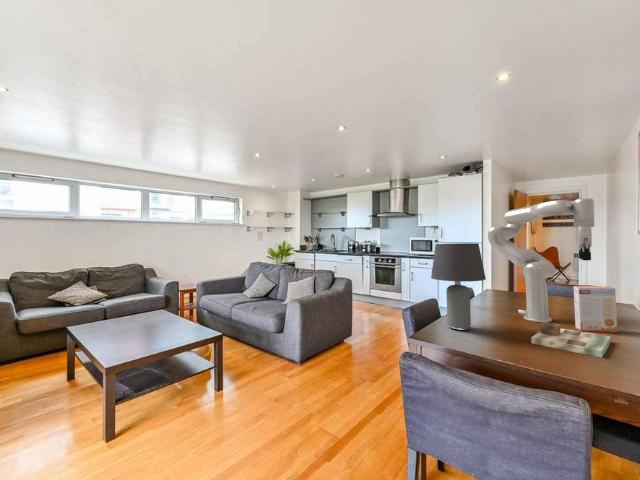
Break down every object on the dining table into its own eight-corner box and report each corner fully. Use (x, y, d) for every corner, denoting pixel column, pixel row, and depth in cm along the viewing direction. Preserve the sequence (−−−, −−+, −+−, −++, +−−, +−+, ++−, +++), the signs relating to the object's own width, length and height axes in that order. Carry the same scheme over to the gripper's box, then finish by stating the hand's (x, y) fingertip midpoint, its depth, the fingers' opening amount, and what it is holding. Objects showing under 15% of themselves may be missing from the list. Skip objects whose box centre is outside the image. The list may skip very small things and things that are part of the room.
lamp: (486, 324, 156) (484, 242, 156) (488, 339, 134) (485, 243, 134) (435, 319, 168) (433, 243, 168) (429, 332, 146) (426, 244, 146)
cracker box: (610, 329, 143) (608, 286, 143) (618, 333, 137) (616, 288, 137) (574, 327, 147) (573, 285, 147) (580, 331, 142) (579, 287, 142)
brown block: (540, 333, 132) (540, 324, 132) (543, 330, 136) (543, 321, 136) (557, 336, 128) (557, 327, 128) (560, 333, 131) (560, 324, 131)
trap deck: (531, 343, 127) (531, 337, 127) (547, 331, 143) (546, 326, 143) (601, 357, 110) (601, 351, 110) (610, 342, 126) (610, 336, 126)
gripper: (571, 225, 153) (572, 258, 153) (576, 224, 139) (577, 260, 139) (591, 224, 149) (592, 258, 149) (597, 223, 135) (598, 261, 135)
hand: (584, 259), depth 144 cm, fingers open, 9 cm apart
